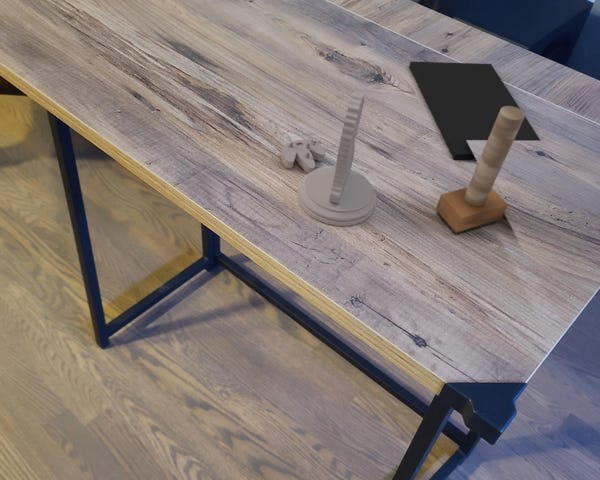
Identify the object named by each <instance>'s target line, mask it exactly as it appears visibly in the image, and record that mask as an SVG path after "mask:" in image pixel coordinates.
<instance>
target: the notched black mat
mask: <svg viewBox="0 0 600 480" xmlns="http://www.w3.org/2000/svg"><path fill="white" fill-rule="evenodd" d="M408 68H409V70H410V72H411V74H412V77H413V78H414V80H415V83H416V85H417V87H418V90H419V91H420V93H421V96H423V99H424V101H425V103H426V105H427V107H428V109H429V112H430V114H431V116H432V118H433V120H434V122H435V124H436V126H437V128H438V129H439V132H440V134H441V136H442V138H443V140H444V143H445V145H446V147H447V149H448V151H449V153H450V155H451V157H452V159H453V160H454V161H463V160H464V161H477V158H476V156H475V154H474V152H473V150H472V149H471V147H470V145H469V143H468V141H487V140H488V138H489V136H490V133H491V131H492V128H493V126H494V124H495V121H496V119H497V117H498V114H499V112H500V109H501V108H502V107H504V106H513V107H516V108H518V109H520V110H521V111H522V109H521V108H520V106H519V105H518V103H517V101H516V100H515V98H514V97H513V95H512V94H511V92H510V91H509V90H508V88H507V86H506V85H505V83H504V82H503V80H502V78H501V76H500V75H499V74H498V73H497V71H496V69H495V68H494V66H493V65H492V63H472V62H443V61H441V62H440V61H409V65H408ZM514 141H515V142H517V141H520V142H522V141H523V142H524V141H525V142H527V141H529V142H534V141H535V142H540V141H542V140H541V139H540V137H539V136H538V134H537V133H536V130H534V128H533V126H532V125H531V123H530V121H529V120H528V119H527V117H526V116H525V117H524V119H523V122H522V124H521V126H520V128H519V130H518V133H517V135H516V137H515V139H514ZM514 141H513V142H514Z"/></svg>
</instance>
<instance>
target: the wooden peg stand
mask: <svg viewBox="0 0 600 480" xmlns="http://www.w3.org/2000/svg"><path fill="white" fill-rule="evenodd" d="M520 109H521V108H520ZM520 109H518V108H516V107H513V106H504V107H502V108H501V109H500V112H499V114H498V117H497V119H496V121H495V124H494V126H493V128H492V131H491V133H490V136H489V138H488V140H486V143H485V145H484V148H483V150H482V153H481V155H480V157H479V159H478V162H477V164H476V167H475V169H474V171H473V174H472V177H471V179H470V181H469V183H468V186H467V187H463V188H459V189H457V190H456V189H455V190H453V191H449V192H445V193H441V194H440V196H439V199H438V202H437V204H436V206H435V211H436V215H437V217H439V218H440V219H441V221H442V222H443V223H444V224H445V225H446V226H447V227H448V228H449V230H450V231H451V232H452V233H453V234H454V235H459V234H461V233H466V232H468V231H472V230H474V229H478V228H482V227H485V226H489V225H492V224H495V223H497V222H498V221H500V220H501V219H502V218H503V216H504V214H505V212H506V209H507V208H508V205H509V204H508V203H507V202H506V201H505V200H504V199H503V198H502V197H501V196H500V195H499V194H498V193H497V192H496V191H495V190H494V189H493V187H494V185H495V183H496V181H497V178H498V176H499V174H500V172H501V169H502V167H503V165H504V163H505V161H506V158H507V156H508V155H509V152H510V150H511V148H512V146H513V144H514V139H515V137H516V135H517V133H518V130H519V128H520V126H521V124H522V122H523V119H524V117H526V116H525V113H524V111H523V110H522V109H521V110H520Z"/></svg>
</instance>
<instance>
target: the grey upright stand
mask: <svg viewBox="0 0 600 480" xmlns="http://www.w3.org/2000/svg"><path fill="white" fill-rule="evenodd" d="M364 104H365V93H363V92H359V91H355V90H354V91H353V92H352V94H351V97H350V99H349V103H348V107H347V110H346V115H345V119H344V122H343V127H342V131H341V135H340V140H339V145H338V151H337V157H336V163H335V164H336V165H326V166H322V167H319V168H315V169H314V171H312V172H310V173H309V174H308V173H306V175H305V176H304V177H303V178H302V179H301V181H300V183H299V185H298V186H297V193H296V194H297V195H296V196H297V197H296V198H297V201H298V204H299V205H300V207H301V209H302V210H303V211H304V212H305V213H306V214H307V215H308V216H310V218H313V219H315V220H316V221H319V222H320V223H323V224H327V225H330V226H336V227H347V226H348V227H349V226H354V225H358V224H362V223H363V222H365V221H367V220H369V218H371V217H372V215H373V214H374V212H375V211H376V207H377V201H378V200H377V193H376V190H375V188H374V186H373V185H372V183H371V182H370V180H368V178H366V177H365V176H364V175H363V174H361V173H360V172H358V171H356V170H354V169H352V166H353V161H354V157H355V152H356V151H355V149H356V148H355V147H356V137H357V135H359V133H358V129H359V126H360V123H361V117H362V112H363V108H364Z"/></svg>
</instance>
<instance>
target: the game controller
mask: <svg viewBox="0 0 600 480" xmlns="http://www.w3.org/2000/svg"><path fill="white" fill-rule="evenodd" d="M271 122H272V123H273V124H274V125H275V128H276V130H277V131H278V133H280V134H281V135H284V134H285V135H286V136H287V137H288V138H289V139H288V140H289V141H290V142H289V143H286V144H285V145H284V146H283V147H282V148H281V153H280V158H281V161H282V164H283V166H284V167H285V168H287V169H292V168H293V166H294V164H295V160H296V163H298V165H299V166H300V167H301V168H302V170H304V172H305V173H306V174H309V173H310V172H312V171H314V170H315V169H316V162H315V160H316V161H318V162H322V161H324V159H325V155H326V149H325V148H324V147H323V146H322V144H321V143H320V142H318V141H317V140H315V139H309V138H305V139H297V140H294V141H292V139H291V137H290V136H289V134H287V133H286V132H283V133H282V132H281V131H280V129H278V126H277V124H276V122H275V121H273V120H272V119H270V121H269V124H271Z"/></svg>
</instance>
